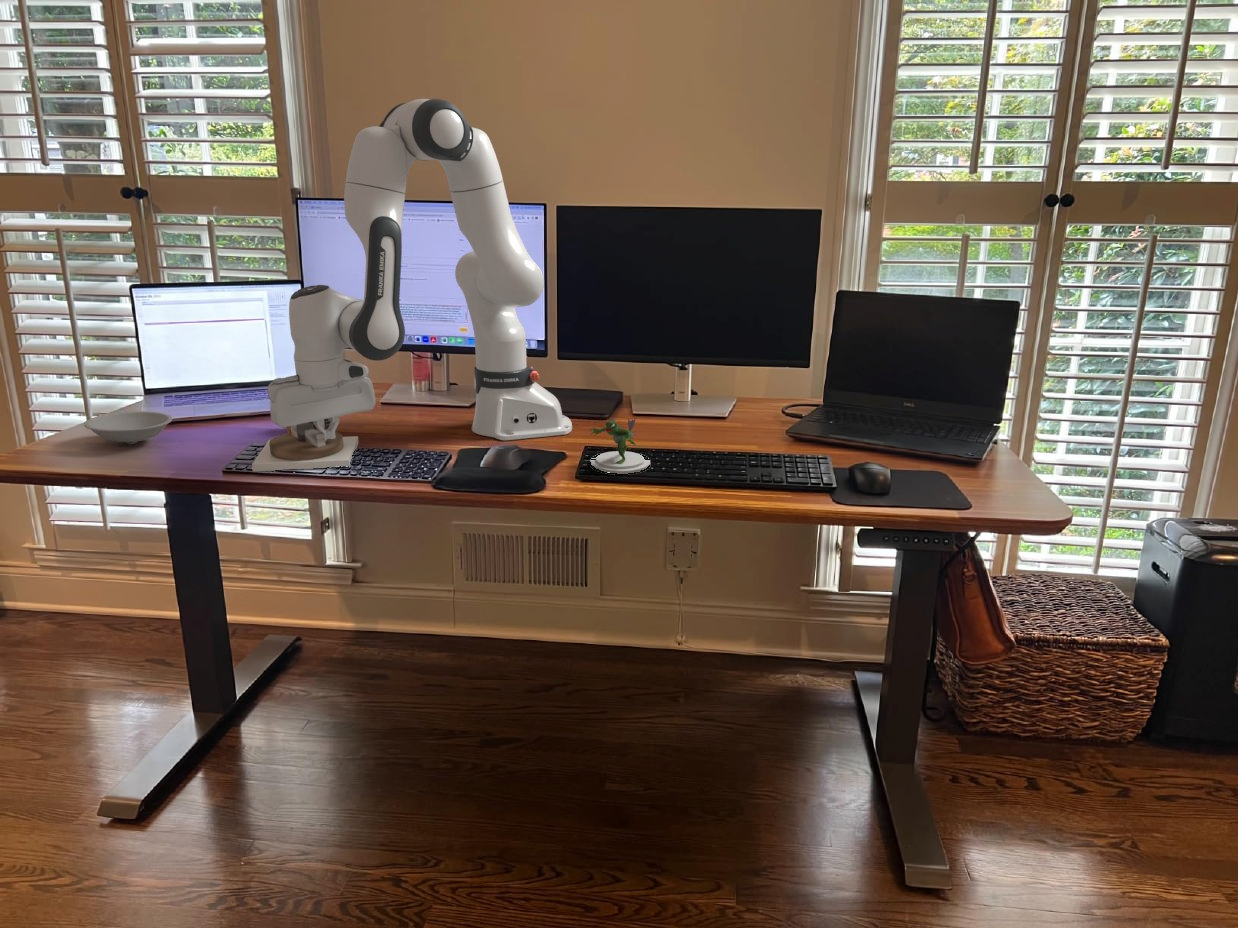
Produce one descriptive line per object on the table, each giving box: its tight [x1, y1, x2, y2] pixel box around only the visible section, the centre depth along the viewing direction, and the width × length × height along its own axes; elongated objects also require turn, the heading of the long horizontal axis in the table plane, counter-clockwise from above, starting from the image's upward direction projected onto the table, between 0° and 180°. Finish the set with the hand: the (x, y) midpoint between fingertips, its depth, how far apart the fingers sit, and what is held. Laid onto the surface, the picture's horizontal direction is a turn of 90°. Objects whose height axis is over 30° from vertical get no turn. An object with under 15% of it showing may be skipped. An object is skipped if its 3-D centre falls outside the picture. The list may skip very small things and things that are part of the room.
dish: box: [83, 410, 173, 445], centre depth 186 cm, size 18×14×5 cm
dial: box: [269, 423, 344, 460], centre depth 178 cm, size 14×14×5 cm
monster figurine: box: [588, 418, 651, 475], centre depth 174 cm, size 12×12×10 cm
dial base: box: [251, 436, 359, 473], centre depth 178 cm, size 18×16×7 cm
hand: (328, 439), depth 175 cm, fingers closed
